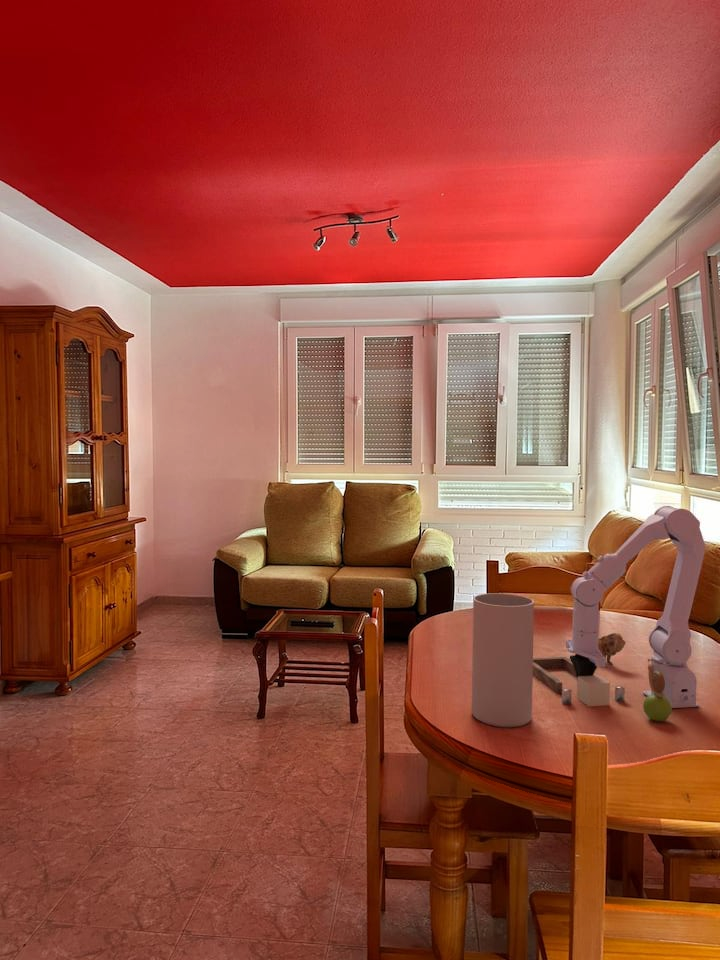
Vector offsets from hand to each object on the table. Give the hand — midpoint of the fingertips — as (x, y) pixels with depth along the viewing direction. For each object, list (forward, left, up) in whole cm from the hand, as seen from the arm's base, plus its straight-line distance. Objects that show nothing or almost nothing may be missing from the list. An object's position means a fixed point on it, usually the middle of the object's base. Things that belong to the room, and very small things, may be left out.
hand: (584, 687), depth 148 cm
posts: (-4, 0, -2) cm, 4 cm away
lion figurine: (+22, -17, -2) cm, 29 cm away
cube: (-4, 0, -2) cm, 4 cm away
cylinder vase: (-9, +24, -2) cm, 26 cm away
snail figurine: (-15, -8, -2) cm, 17 cm away
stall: (+10, 0, -2) cm, 11 cm away
